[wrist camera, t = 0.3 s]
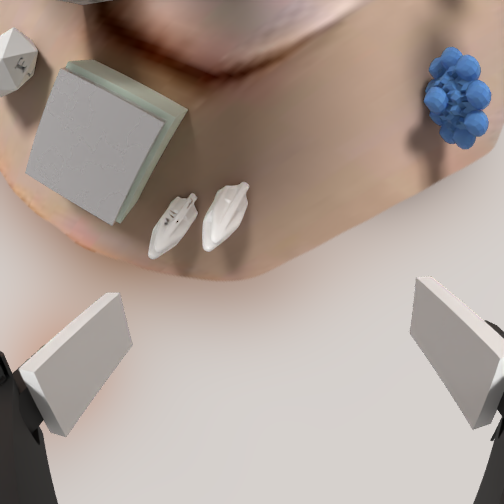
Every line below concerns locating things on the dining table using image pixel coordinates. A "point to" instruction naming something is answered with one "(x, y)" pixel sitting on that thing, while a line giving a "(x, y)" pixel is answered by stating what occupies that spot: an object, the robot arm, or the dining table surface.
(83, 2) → the coffee box
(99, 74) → the block
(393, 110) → the dining table surface
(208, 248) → the salt and pepper shakers
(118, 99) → the pan
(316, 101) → the dining table surface
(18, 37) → the die
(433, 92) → the grapes
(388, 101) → the dining table surface
